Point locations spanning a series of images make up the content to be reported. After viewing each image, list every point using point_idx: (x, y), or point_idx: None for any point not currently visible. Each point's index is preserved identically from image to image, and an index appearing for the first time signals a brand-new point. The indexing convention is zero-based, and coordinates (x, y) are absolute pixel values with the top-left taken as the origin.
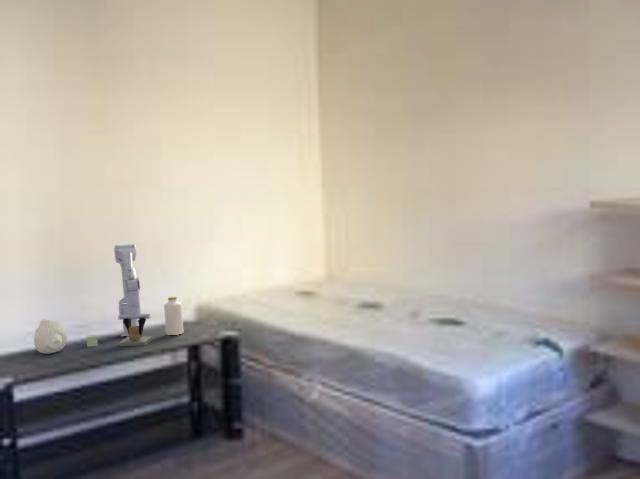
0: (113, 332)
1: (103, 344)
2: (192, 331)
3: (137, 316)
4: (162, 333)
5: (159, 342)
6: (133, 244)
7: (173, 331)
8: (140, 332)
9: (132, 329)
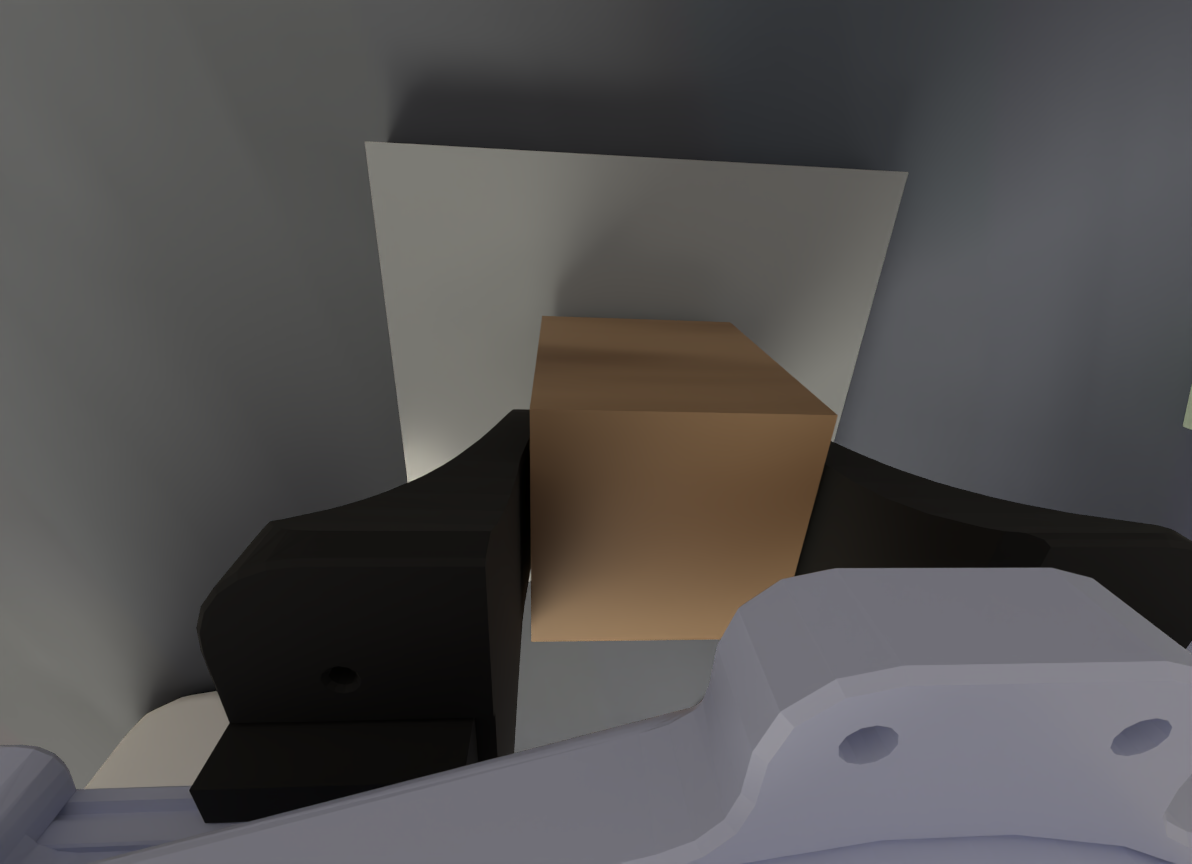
0: None
1: (1110, 369)
2: None
3: (483, 818)
4: None
5: (216, 351)
6: None
7: (172, 734)
8: (510, 417)
9: (705, 394)
